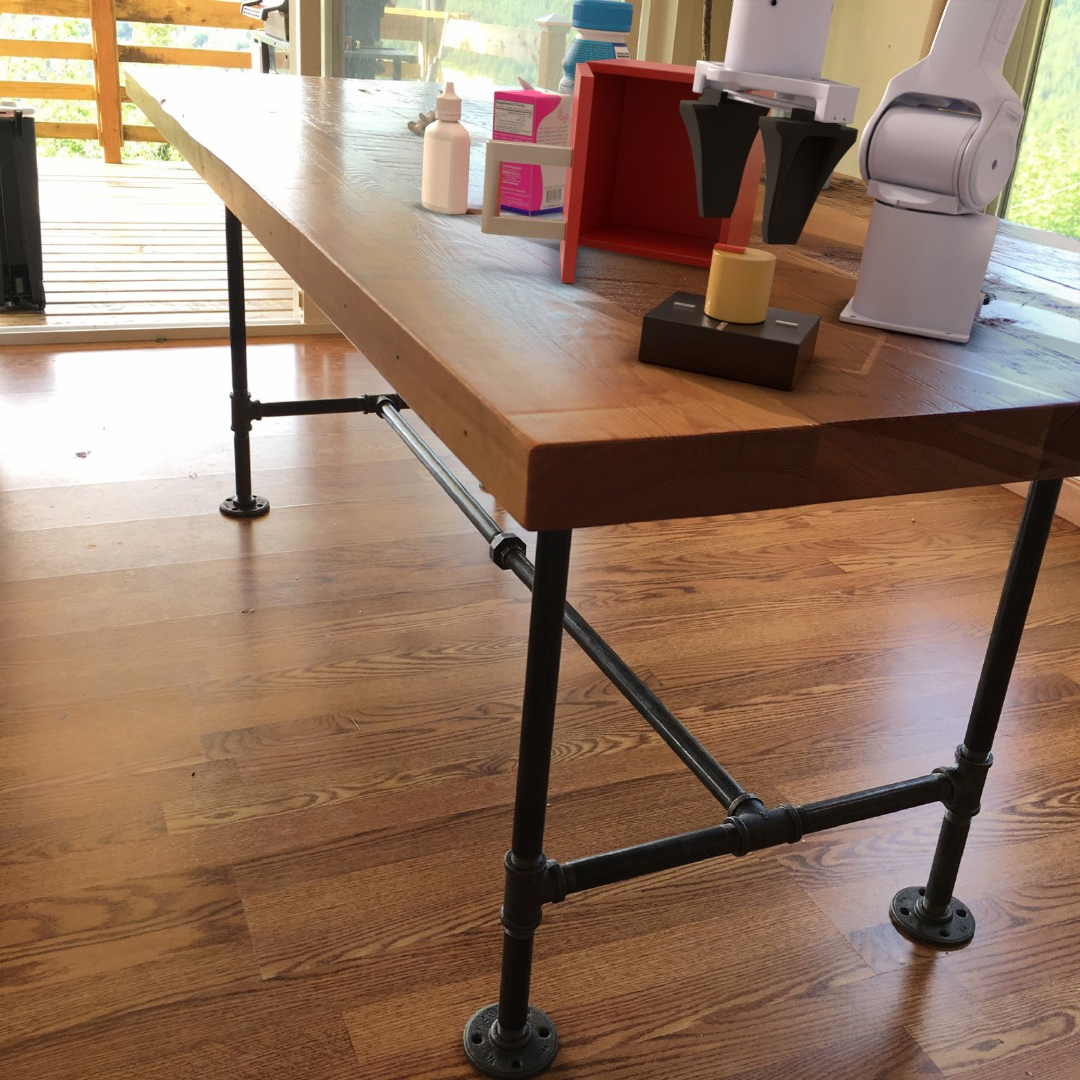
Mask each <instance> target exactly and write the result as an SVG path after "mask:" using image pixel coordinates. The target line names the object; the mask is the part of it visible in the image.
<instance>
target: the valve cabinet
mask: <svg viewBox="0 0 1080 1080" xmlns="http://www.w3.org/2000/svg"><path fill="white" fill-rule="evenodd" d="M586 64H588V65H589V68H590V70H591V72H592V74H593V76H594V85H593V95H592V105H591V116H590V126H589V136H588V146H587V156H586V166H585V177H584V187H583V197H582V207H581V217H580V227H579V238H578V247H585V248H589V249H596V250H601V251H606V252H612V253H619V254H625V255H630V256H635V257H636V256H637V257H641V258H648V259H654V260H660V261H666V262H672V263H678V264H683V265H689V266H695V267H699V268H700V267H701V268H707V269H711V262H712V256H713V250H714V246H715V244H716V243H720V244H726V245H732V246H738V247H747V248H750V241H751V235H752V228H753V224H754V223H753V222H754V218H755V212H756V205H757V200H758V199H757V198H758V193H759V188H760V181H761V176H762V175H761V174H762V169H763V163H764V158H765V155H764V147H763V141H762V136H761V131H760V129H759V131H758V133H757V136H756V138H755V140H754V142H753V145H752V147H751V150H750V153H749V156H748V159H747V162H746V165H745V169H744V173H743V177H742V182H741V186H740V190H739V194H738V199H737V202H736V205H735V208H734V211H733V213H732V216H731V218H703V217H701V216H700V215H699V207H698V197H697V184H696V173H695V164H694V157H693V152H692V147H691V142H690V139H689V135H688V132H687V128H686V126H685V123H684V120H683V118H682V115H681V113H680V102H681V101H682V100H691V101H699V97H702V94H700V93H696V92H693V85H694V78H695V70H696V66H692V65H683V64H674V63H665V62H657V61H650V60H641V59H633V58H632V59H609V60H595V61H586ZM744 92H747V93H752V94H756V95H761V96H765V97H770V98H775V92H772V91H765V90H761V91H754V90H745V91H744ZM771 114H772V108H770V111H769V113H768V114H767V116H769V117H771Z"/></svg>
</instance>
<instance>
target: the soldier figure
mask: <svg viewBox="0 0 1080 1080" xmlns="http://www.w3.org/2000/svg"><path fill="white" fill-rule="evenodd" d="M438 92H440V94H439V95H441V94H443V92H444V90H441V89H439V90H438ZM418 117H419V119H418V120H417V121H414V120H410V121H408V122H407V124H406V125H407V128H408V130H409V131H410V132H411V133H413V134H414V133H415V135H417V136H419V135H421V133H422V130H424V131H425V129H426V127H427V126H428V125H429V124H431V123H433V122H435V121H436V120H439V119H437V118H436V108H435V109H429V110H428V111H427V115H425V114H424V113H423V112H419V113H418Z"/></svg>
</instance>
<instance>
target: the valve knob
mask: <svg viewBox="0 0 1080 1080" xmlns="http://www.w3.org/2000/svg"><path fill="white" fill-rule="evenodd" d="M776 264H777V256H776V255H775V254H773V253H771V252H769V251H766V250H762V249H758V248H752V247H749V248H747V247H738V246H732V245H726V244H720V243H716V244H715V246H714V250H713V256H712V262H711V268H709V277H708V283H707V289H706V295H705V296H706V302H705V308H704V312H705V313H706V314H707V315H709V316H711V317H713V318H716V319H719V320H723V321H728V322H734V323H759V322H762V321H764V320H765V319H766V314H767V308H768V307H769V302H770V297H771V290H772V287H773V286H772V285H773V280H774V275H775V269H776Z"/></svg>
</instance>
